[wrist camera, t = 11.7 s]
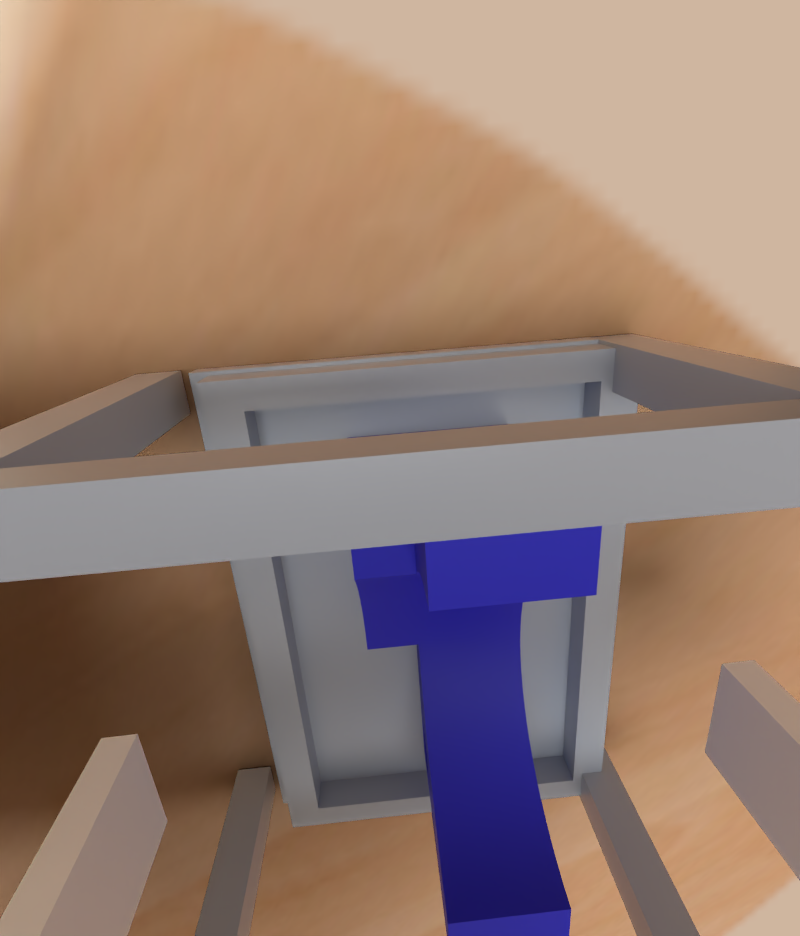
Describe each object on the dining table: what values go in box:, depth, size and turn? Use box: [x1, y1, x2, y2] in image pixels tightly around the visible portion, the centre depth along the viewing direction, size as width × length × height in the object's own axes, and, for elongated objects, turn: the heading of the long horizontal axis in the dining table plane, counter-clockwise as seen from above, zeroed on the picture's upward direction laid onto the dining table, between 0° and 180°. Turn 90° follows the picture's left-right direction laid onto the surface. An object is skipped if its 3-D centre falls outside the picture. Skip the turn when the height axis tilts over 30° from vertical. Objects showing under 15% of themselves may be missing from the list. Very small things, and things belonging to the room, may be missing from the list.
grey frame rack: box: [0, 334, 800, 936], centre depth 12 cm, size 26×16×8 cm, turn 94°
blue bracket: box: [350, 424, 602, 936], centre depth 13 cm, size 12×4×6 cm, turn 4°
